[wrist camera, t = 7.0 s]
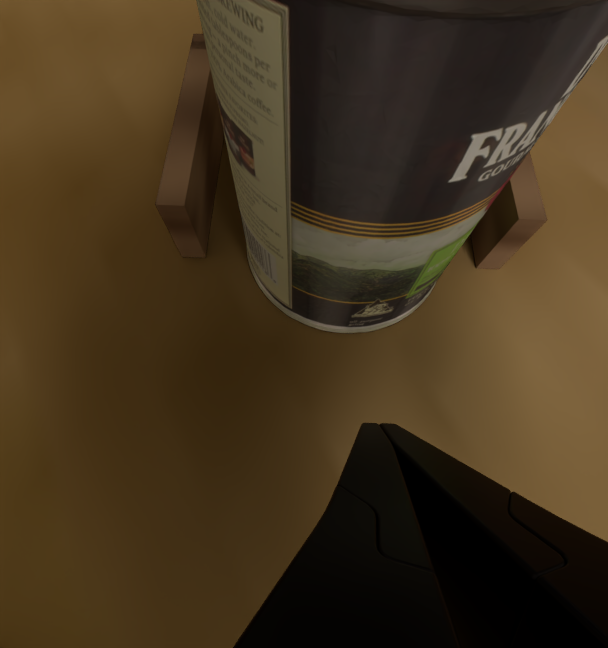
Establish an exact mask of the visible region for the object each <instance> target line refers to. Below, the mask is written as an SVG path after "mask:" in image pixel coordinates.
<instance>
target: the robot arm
mask: <svg viewBox="0 0 608 648" xmlns="http://www.w3.org/2000/svg"><path fill="white" fill-rule="evenodd" d="M233 648H608V542H607V541H605V540H603V539H601V538H599V537H597V536H595V535H593V534H591V533H589V532H587V531H585V530H583V529H581V528H579V527H577V526H575V525H573V524H572V523H570V522H568V521H566V520H564V519H562V518H560V517H558V516H556V515H554V514H553V513H551V512H549V511H547V510H545V509H544V508H542V507H540V506H538V505H536V504H535V503H533V502H531V501H529V500H527V499H526V498H524V497H522V496H521V495H519V494H517V493H515V492H511V491H510V490H509V489H507V488H505V487H504V486H502V485H500V484H499V483H497V482H495V481H493V480H492V479H490V478H488V477H486V476H485V475H483V474H481V473H479V472H478V471H476V470H474V469H472V468H471V467H469V466H467V465H466V464H464V463H462V462H460V461H459V460H457V459H455V458H453V457H452V456H450V455H448V454H446V453H445V452H443V451H441V450H440V449H438V448H436V447H434V446H433V445H431V444H429V443H427V442H426V441H424V440H422V439H420V438H419V437H417V436H415V435H414V434H412V433H410V432H408V431H407V430H405V429H403V428H401V427H400V426H398V425H396V424H388V423H381V424H377V423H362V425H361V427H360V430H359V432H358V434H357V437H356V439H355V442H354V444H353V447H352V449H351V452H350V454H349V457H348V459H347V462H346V464H345V467H344V469H343V472H342V474H341V476H340V479H339V481H338V484H337V486H336V488H335V490H334V493H333V495H332V497H331V500H330V502H329V504H328V506H327V508H326V510H325V512H324V513H323V515H322V517H321V518H320V520H319V522H318V523H317V525H316V527H315V528H314V530H313V531H312V532H311V534H310V535H309V537H308V538H307V540H306V541H305V543H304V544H303V546H302V547H301V549H300V550H299V551H298V553H297V554H296V556H295V557H294V559H293V560H292V562H291V563H290V565H289V566H288V568H287V569H286V571H285V572H284V573H283V575H282V576H281V578H280V579H279V581H278V582H277V584H276V585H275V587H274V588H273V590H272V591H271V593H270V594H269V595H268V597H267V598H266V600H265V601H264V603H263V604H262V606H261V607H260V609H259V610H258V612H257V613H256V614H255V616H254V617H253V619H252V620H251V622H250V623H249V625H248V626H247V628H246V629H245V631H244V632H243V634H242V635H241V636H240V638H239V639H238V641H237V642H236V644H235V645H234V647H233Z"/></svg>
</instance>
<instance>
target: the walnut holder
mask: <svg viewBox="0 0 608 648" xmlns="http://www.w3.org/2000/svg"><path fill="white" fill-rule="evenodd" d="M223 139H224V130H223V126H222V121H221V116H220V111H219V107H218V102H217V97H216V92H215V88H214V83H213V78H212V73H211V69H210V64H209V59H208V54H207V49H206V44H205V39H204V34H193V38H192V43H191V47H190V52H189V56H188V61H187V65H186V70H185V74H184V79H183V83H182V87H181V92H180V96H179V101H178V105H177V110H176V114H175V119H174V123H173V128H172V132H171V137H170V141H169V146H168V150H167V154H166V159H165V163H164V168H163V172H162V177H161V181H160V186H159V190H158V195H157V199H156V204H155V205H156V207H157V209H158V211H159V213H160V215H161V217H162V219H163V221H164V223H165V224H166V226H167V228H168V230H169V232H170V234H171V236H172V238H173V240H174V242H175V244H176V246H177V248H178V250H179V252H180V254H181V256H182V257H200V258H206V251H207V244H208V238H209V231H210V225H211V218H212V211H213V205H214V198H215V192H216V185H217V178H218V172H219V165H220V159H221V152H222V145H223ZM546 221H547V217H546V213H545V209H544V205H543V201H542V198H541V194H540V190H539V186H538V182H537V178H536V175H535V171H534V167H533V163H532V159H531V155H530V151H529V153H528V154H527V156H526V157H525V159H524V160H523V162H522V163H521V164H520V166H519V167H518V169H517V170H516V171H515V173H514V174H513V176H512V177H511V179H510V180H509V181H508V183H507V184H506V185H505V186H504V188H503V189H502V191H501V192H500V194H499V195H498V196H497V197H496V199H495V200H494V201H493V203H492V204H491V205H490V207H489V208H488V210H487V211H486V213H485V214H484V216H483V217H482V218H481V220H480V221H479V222H478V223H477V225H476V226H475V228H474V229H473V231H472V232H471V239H472V246H473V252H474V258H475V264H476V268H485V269H500V268H501V267H502V266H503V265H504V264H505V263H506V262H507V261H508V260H509V259H510V258H511V257H512V256H513V255H514V254H515V253H516V252H517V251H518V250H519V248H520V247H521V246H522V245H523V244H524V243H525V242H526V241H527V240H528V239H529V238H530V237H531V236H532V235H533V234H534V233H535V232H536V231H537V230H538V229H539V228H540V227H541V226H542V225H543V224H544V223H545V222H546Z"/></svg>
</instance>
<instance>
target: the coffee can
mask: <svg viewBox="0 0 608 648" xmlns="http://www.w3.org/2000/svg"><path fill="white" fill-rule="evenodd" d="M196 1H197V5H198V10H199V15H200V20H201V25H202V29H203V34H204V39H205V44H206V49H207V54H208V59H209V64H210V69H211V73H212V78H213V83H214V88H215V92H216V97H217V102H218V107H219V111H220V116H221V121H222V126H223V130H224V135H225V140H226V145H227V150H228V155H229V160H230V165H231V170H232V175H233V180H234V184H235V189H236V194H237V199H238V204H239V209H240V214H241V218H242V224H243V229H244V234H245V239H246V244H247V258H248V261H249V266H250V269H251V271H252V274H253V276H254V278H255V280H256V282H257V284H258V285H259V287H260V289H261V290H262V291H263V293H264V294H265V295H266V297H267V298H268V299H269V300H270V301H271V302H272V303H273V304H274V305H275V306H276V307H278V308H279V309H280V310H281V311H283V312H284V313H285V314H286V315H287V316H289V317H291V318H293V319H295V320H297V321H299V322H301V323H303V324H305V325H308V326H311V327H314V328H317V329H320V330H324V331H330V332H337V333H361V332H370V331H375V330H378V329H381V328H384V327H387V326H390V325H392V324H394V323H396V322H398V321H400V320H402V319H403V318H405V317H407V316H408V315H409V314H411V313H412V312H413V311H415V310H416V309H417V308H418V307H419V306H420V305H421V304H422V303H423V302H424V300H425V299H426V298H427V297H428V296H429V295H430V293H431V291H432V289H433V288H434V286H435V284H436V281H437V280H438V278H439V277H440V276H441V274H442V273H443V271H444V270H445V268H446V267H447V266H448V264H449V263H450V261H451V260H452V258H453V257H454V256H455V254H456V253H457V251H458V250H459V249H460V247H461V246H462V245H463V244H464V242H465V241H466V239H467V238H468V236H469V235H470V234H471V232H472V231H473V229H474V228H475V226H476V225H477V223H478V222H479V221H480V220H481V218H482V217H483V216H484V214H485V213H486V211H487V210H488V208H489V207H490V205H491V204H492V203H493V201H494V200H495V199H496V197H497V196H498V195H499V194H500V192H501V191H502V189H503V188H504V186H505V185H506V184H507V183H508V181H509V180H510V179H511V177H512V176H513V174H514V173H515V171H516V170H517V169H518V167H519V166H520V164H521V163H522V162H523V160H524V159H525V157H526V156H527V154H528V153H529V151H530V150H531V148H532V147H533V146H534V144H535V143H536V141H537V140H538V139H539V137H540V136H541V134H542V133H543V132H544V130H545V129H546V127H547V126H548V125H549V124H550V123H551V121H552V120H553V118H554V117H555V115H556V114H557V112H558V111H559V109H560V108H561V106H562V105H563V104H564V102H565V101H566V99H567V98H568V97H569V95H570V94H571V92H572V91H573V90H574V88H575V87H576V86H577V84H578V83H579V82H580V80H581V79H582V78H583V77H584V75H585V74H586V73H587V71H588V70H589V68H590V67H591V65H592V64H593V62H594V61H595V60H596V58H597V57H598V55H599V54H600V53H601V51H602V50H603V48H604V47H605V46H606V44H607V43H608V0H196Z"/></svg>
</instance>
